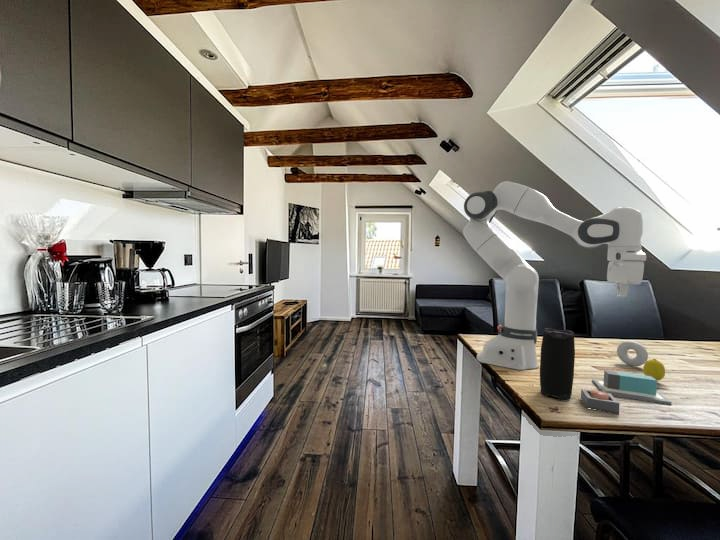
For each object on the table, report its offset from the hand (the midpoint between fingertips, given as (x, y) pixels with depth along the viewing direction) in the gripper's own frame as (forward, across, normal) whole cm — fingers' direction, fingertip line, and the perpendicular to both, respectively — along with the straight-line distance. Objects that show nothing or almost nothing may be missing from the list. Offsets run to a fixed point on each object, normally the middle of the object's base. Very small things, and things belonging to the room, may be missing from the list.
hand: (621, 296), depth 109 cm
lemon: (+29, -6, +12) cm, 32 cm away
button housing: (+29, +27, -12) cm, 41 cm away
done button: (+28, +27, -12) cm, 41 cm away
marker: (+28, +10, 0) cm, 30 cm away
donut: (+29, -25, +12) cm, 40 cm away
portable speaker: (+29, +24, -22) cm, 44 cm away
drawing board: (+29, +10, 0) cm, 31 cm away
